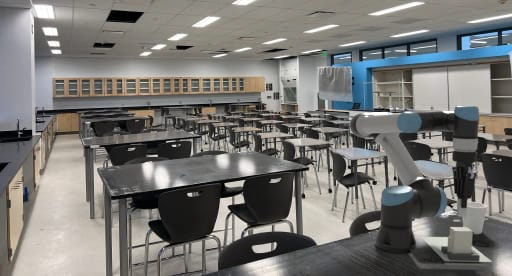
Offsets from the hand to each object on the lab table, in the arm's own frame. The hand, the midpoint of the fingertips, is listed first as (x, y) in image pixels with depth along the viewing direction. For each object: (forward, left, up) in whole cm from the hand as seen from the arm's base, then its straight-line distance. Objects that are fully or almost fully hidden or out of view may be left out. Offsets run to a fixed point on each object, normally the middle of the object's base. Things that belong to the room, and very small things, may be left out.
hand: (461, 215), depth 134 cm
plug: (0, 0, -15) cm, 15 cm away
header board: (+1, +7, -16) cm, 18 cm away
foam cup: (+17, +26, -17) cm, 35 cm away
